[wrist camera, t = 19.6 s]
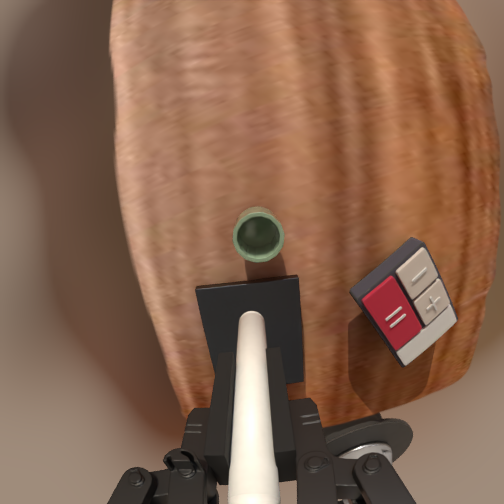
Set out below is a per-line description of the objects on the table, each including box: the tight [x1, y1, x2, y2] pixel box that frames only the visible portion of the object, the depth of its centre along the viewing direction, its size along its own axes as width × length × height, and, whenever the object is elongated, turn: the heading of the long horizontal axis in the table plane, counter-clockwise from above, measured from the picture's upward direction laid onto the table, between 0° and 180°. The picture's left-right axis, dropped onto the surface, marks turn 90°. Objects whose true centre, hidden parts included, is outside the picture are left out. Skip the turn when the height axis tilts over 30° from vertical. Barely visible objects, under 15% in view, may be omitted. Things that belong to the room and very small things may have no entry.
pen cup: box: [233, 207, 284, 263], centre depth 29 cm, size 5×5×5 cm
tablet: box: [195, 275, 304, 384], centre depth 34 cm, size 17×12×2 cm
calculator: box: [350, 237, 458, 367], centre depth 32 cm, size 11×4×15 cm
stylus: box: [228, 311, 280, 504], centre depth 13 cm, size 2×2×15 cm
